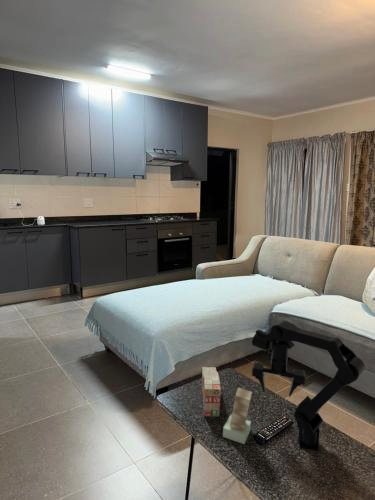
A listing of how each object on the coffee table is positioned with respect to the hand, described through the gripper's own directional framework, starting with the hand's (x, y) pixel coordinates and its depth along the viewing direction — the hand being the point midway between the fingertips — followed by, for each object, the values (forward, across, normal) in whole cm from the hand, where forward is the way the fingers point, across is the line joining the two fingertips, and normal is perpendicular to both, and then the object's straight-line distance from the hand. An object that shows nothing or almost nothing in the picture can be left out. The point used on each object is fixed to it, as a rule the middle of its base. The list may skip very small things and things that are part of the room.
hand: (276, 393), depth 129 cm
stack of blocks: (+13, +27, -8) cm, 31 cm away
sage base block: (+13, +13, +9) cm, 21 cm away
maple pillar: (+9, +13, +9) cm, 18 cm away
